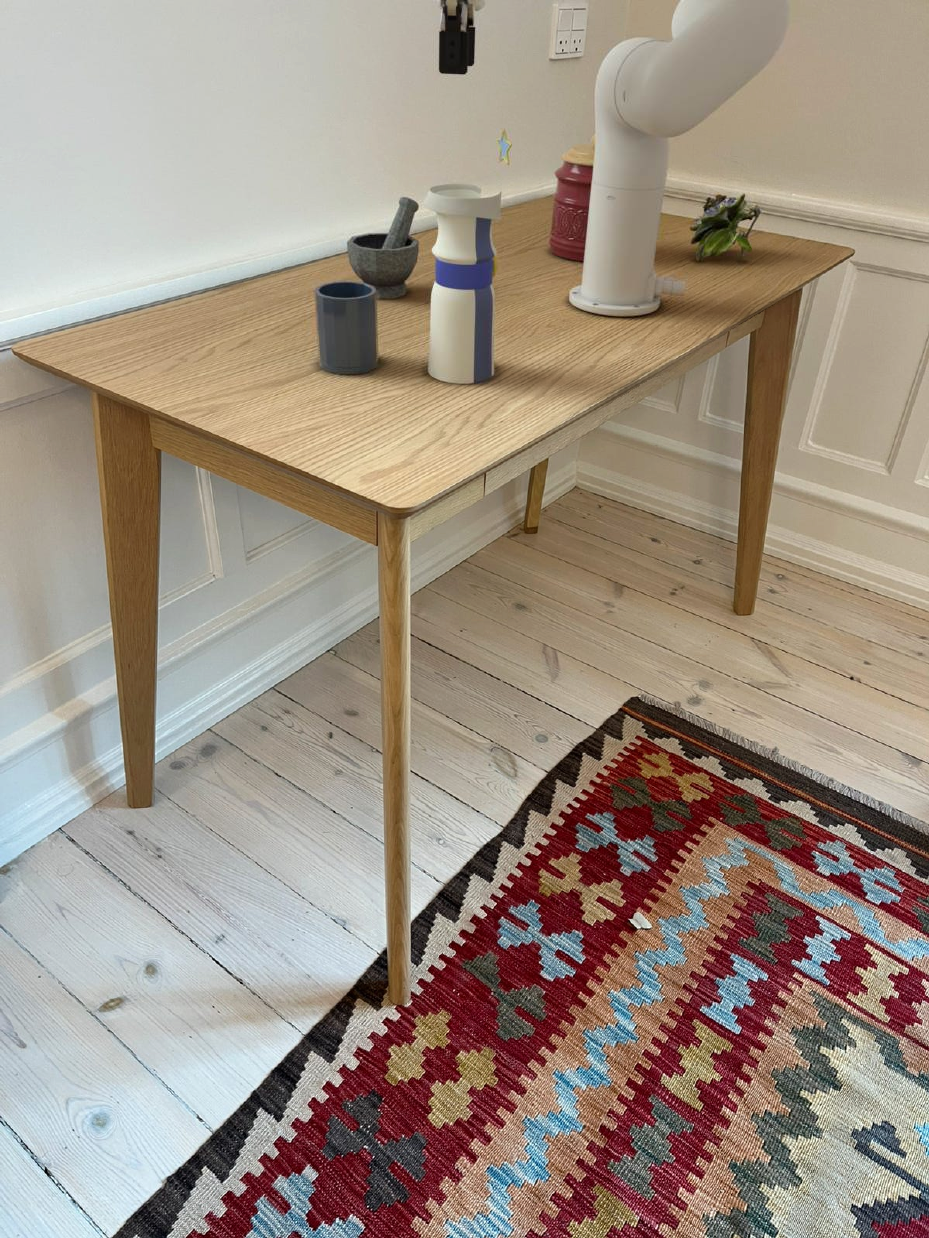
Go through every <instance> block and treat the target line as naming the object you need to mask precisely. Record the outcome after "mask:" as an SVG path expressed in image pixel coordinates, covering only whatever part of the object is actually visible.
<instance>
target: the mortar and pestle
mask: <svg viewBox="0 0 929 1238" xmlns="http://www.w3.org/2000/svg"><path fill="white" fill-rule="evenodd" d="M419 207H420V206H419V203H418V202H417V201H415V200H414V199H413V198H410V197H407V196H401V197H400V198H399V200H398V209H397V211H396V213H395V216H394V218H393V221H392V222H391V226H390V228H389V231H388V232H368V233H364V234H358V235H353V236H351V238H350V239H349V240H347V241H346V245H347V246H346V247H347V248H346V249H347V257H348V261H349V265H350V267H351V269H352V270H353V272H354V274H355V275H356V276H357V277H358V278H359V279H360V280H361V281H362V283H366V284H369V285H371V286H374V287H375V289H376V290H377V300H385V299H389V300H390V299H391V300H392V299H397V298H401V297H404V296H405V295H406V293H407V284H406V281H407V280H408V279H409V277H411V276H412V273H413V271H414V269H415V267H416V265H417V263H418V256H419V252H420V251H419V250H420V249H419V248H420V247H419V246H420V244H419V243H420V242H419V240H418V239H416V238H414V237H412V236H410V232H411V229H412V224H413V221H414V218H415V215H416V214H415V213H416V212H418V211H419Z"/></svg>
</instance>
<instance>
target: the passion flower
mask: <svg viewBox="0 0 929 1238" xmlns="http://www.w3.org/2000/svg"><path fill="white" fill-rule="evenodd" d="M727 197H728V196H727V195H726V194H725V195H722V194H719V193H718V194H715V196H714V197H711V196H708V197H707V198H706V199H705V204H704V205H702V208H703V213H702V215H698V218H696V220H695V225H690V227H689V231H691V232H694V234H693V237H692V238H691V240H690V244H691V245H696V244H698V245H697V247H696V249H695V256H694V257H695V258H696V261H697V262H699V260H700V257H702V258H703V259H705V258H707V257H709V256H711V255H714V256H719V255H721V254H723V253H724V252H726V251H728V249H730V248H731V247H732V246H733V245H735V244H736V243H737V244H738V246H739V247H740V248H741V251H740V262H743V257H744V255H745V251H747V252H748V253H752V252H753V249H752V245H751V243H750V241H749V239H748V238H749V235H750V233H751V231H752V229H753V227H754V225H755V224H756V222H757V220H758V219H759V217H760V214H761V213H762V211H761V209H760V208H761V207H760V205H758V204H757V203H755V204H754V205H753V206H752V205H751V206H748V209H749V212H746V211H745V208H746V205H747V204H748V202H747V201H746V200H745V199H746V193H745V192H744V193H742V194H740V195H739V196H738V198H736V197H735V196H730V197H728V198H729V199H728V200H727V201H726V199H727ZM747 220H749V221H752V220H753V221H752V223H751V224H750V227H749V228H748V230H747V232H745V231H744V230H740V229H738V227H739V224H740V223H741V222H743V221H747ZM737 229H738V230H737Z"/></svg>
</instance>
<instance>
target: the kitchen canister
mask: <svg viewBox="0 0 929 1238" xmlns="http://www.w3.org/2000/svg"><path fill="white" fill-rule="evenodd" d="M594 154H595V133H594V134H593V135H592V137H591V140H590V144H579V145H574V146H572V147H571V148H570V149H569V150H567V151H565V152H564V153H563V154H562V155H561V160H562V161H563V163H562V165H561V166H560V167H558V168H557V169H556V170H555V171H554V176H555V178H556V180H557V183H556V188H555V189H556V190H555V192H554V193H553V195H552V198H553V202H552V203H553V205H552V218H551V230H550V233H549V241H548V242H549V247H550V250H549V251H550V252H551V253H552V254H554V255H555V256H557V257H560V258H563V259H567V260H573V261H578V262H584V255H585V245H586V235H587V225H588V215H589V204H590V194H591V184H592V176H593V166H594Z"/></svg>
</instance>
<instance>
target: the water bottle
mask: <svg viewBox="0 0 929 1238" xmlns="http://www.w3.org/2000/svg"><path fill="white" fill-rule="evenodd" d="M496 144H497V145H498V148H499V161H498V162H499V163H502V162H503V160H504V162H505V163H506V165H508V166H509V165H510V157H509V150H511V148H512V146H513V144H512V142H510V141H508V138H507V133H506V129H505V128H503V129H502V134H501V138H496ZM501 204H502V191H499V193H497V194H496V195H492V196H488V197H482V189H481V188H480V187H479V186H477V185H475V184H471V183H457V182H456V183H445V184H444V183H443V184H438V185H434V186H432V187H431V186H430V188H429V189H428V192H427V194H426V196H425V199H424V201H423V204H422V205H423V207H424V208H425V209H427V210H429V211H432V212H435V216H436V221H437V229H438V230H437V237H436V242H435V244H434V245H433V246H432V248H431V253H432V255H434V257H435V269H434V271H435V273H434V275H435V279H434V283H433V285H432V289H431V295H430V318H429V319H430V320H429V321H430V322H429V323H430V324H429V330H430V331H429V347H428V361H427V373H428V375H429V376H431V378H433V379H435V380H438V381H440V382H445V383H448V384H458V385H459V384H462V385H463V384H464V385H466V384H476V383H482V382H484V381H488V380H490V379H491V378H492V377H493V376H494V375H495V321H496V320H495V319H496V318H495V317H496V315H495V314H496V293H495V287H494V284H493V278H495V276H496V275H497V272H498V259H497V254H498V251H497V249H496V247H495V245H494V242H493V236H492V233H493V232H492V231H493V230H492V229H493V224H494V223H493V222H494V221H499V225H500V226H502V217H501V215H502V214H501V208H502V207H501V206H502V205H501Z"/></svg>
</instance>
